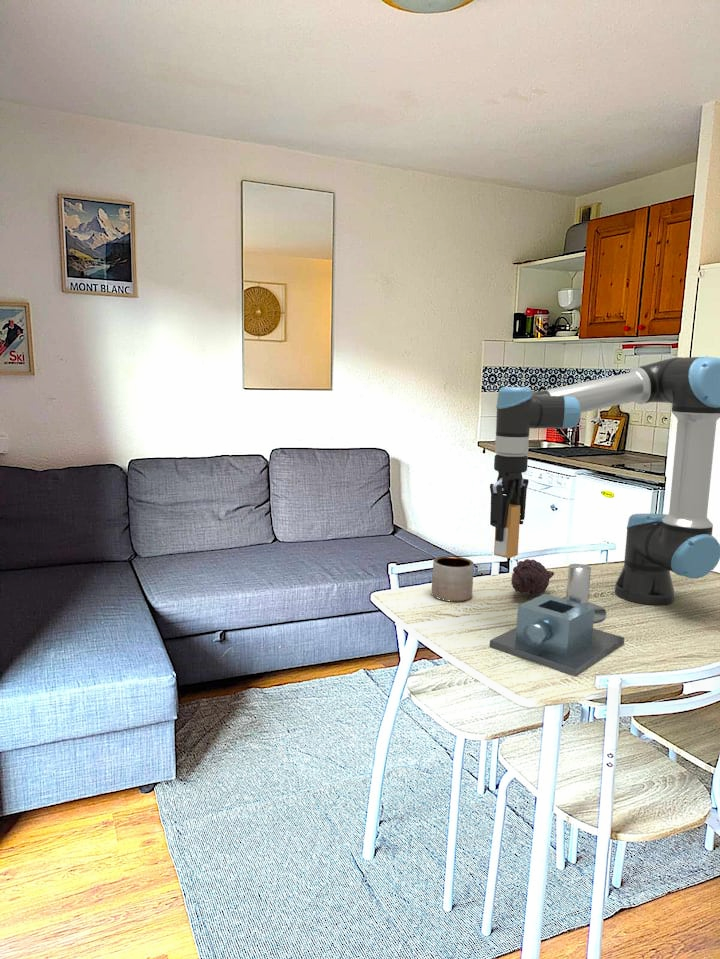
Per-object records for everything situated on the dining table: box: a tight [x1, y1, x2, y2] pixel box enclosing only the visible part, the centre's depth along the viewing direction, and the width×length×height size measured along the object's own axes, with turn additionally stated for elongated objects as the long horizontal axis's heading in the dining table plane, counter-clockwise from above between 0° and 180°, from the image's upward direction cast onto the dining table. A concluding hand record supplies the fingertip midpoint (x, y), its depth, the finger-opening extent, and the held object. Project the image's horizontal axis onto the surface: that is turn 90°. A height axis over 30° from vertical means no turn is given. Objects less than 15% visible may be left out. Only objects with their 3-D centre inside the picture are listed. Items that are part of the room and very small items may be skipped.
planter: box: [431, 555, 475, 602], centre depth 182 cm, size 11×11×10 cm
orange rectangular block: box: [493, 504, 521, 559], centre depth 160 cm, size 4×4×12 cm
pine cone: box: [511, 558, 555, 597], centre depth 184 cm, size 18×10×10 cm, turn 137°
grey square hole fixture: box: [489, 563, 625, 677], centre depth 151 cm, size 26×20×16 cm
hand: (506, 552), depth 161 cm, fingers closed on orange rectangular block, 4 cm apart
